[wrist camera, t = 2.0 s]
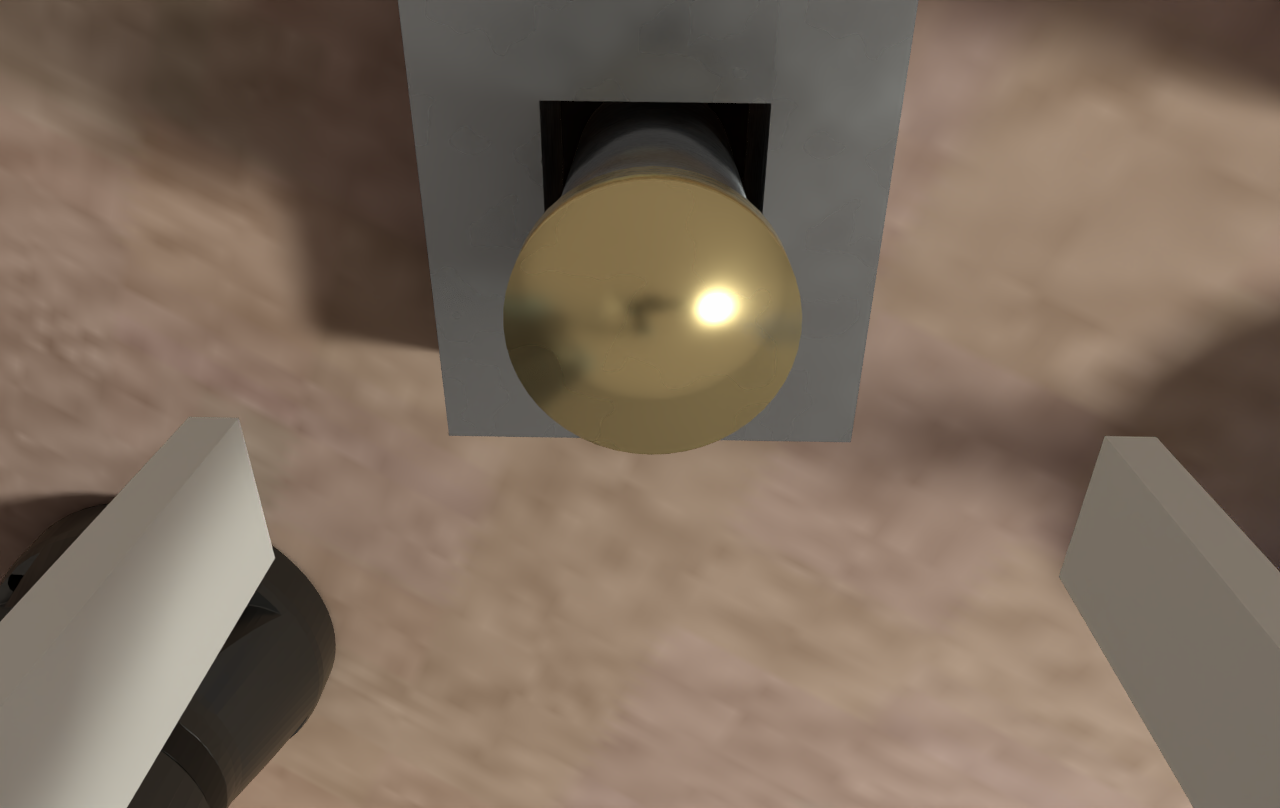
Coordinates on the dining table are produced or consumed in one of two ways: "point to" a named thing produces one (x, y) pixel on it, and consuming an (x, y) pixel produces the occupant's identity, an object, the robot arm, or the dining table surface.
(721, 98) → the housing
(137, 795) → the robot arm
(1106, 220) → the dining table surface
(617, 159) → the grey and gold cylinder
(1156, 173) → the dining table surface
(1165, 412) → the dining table surface
